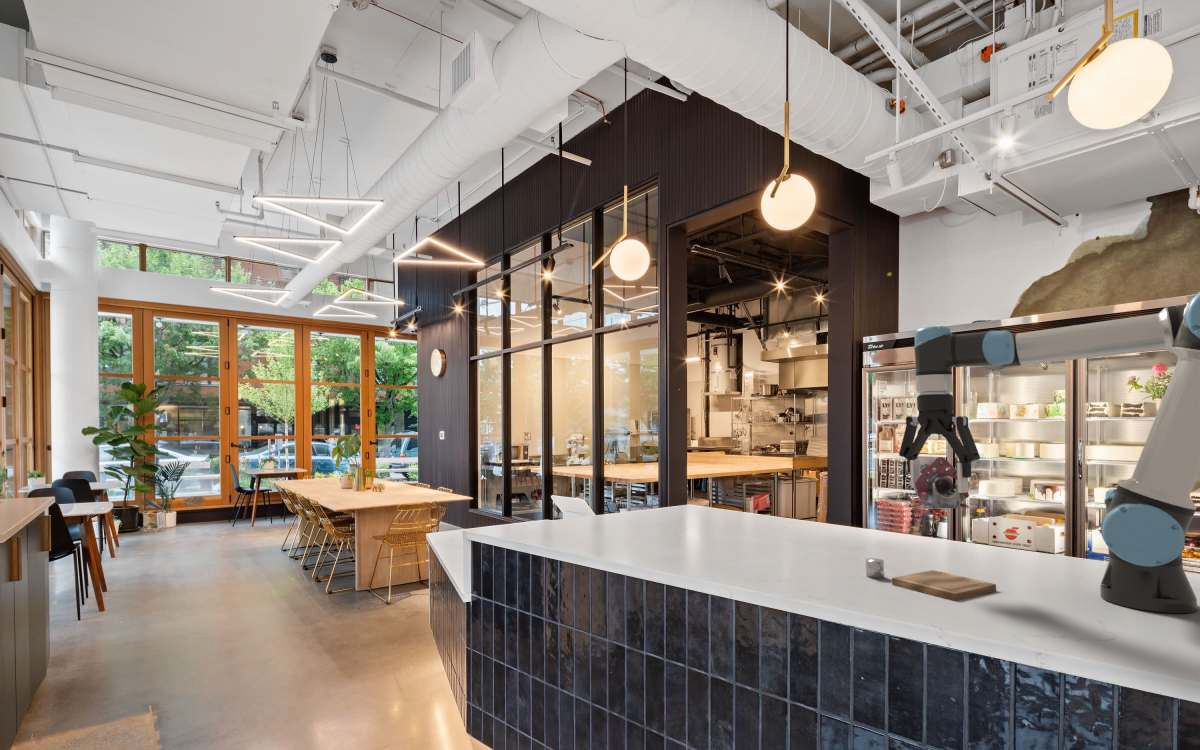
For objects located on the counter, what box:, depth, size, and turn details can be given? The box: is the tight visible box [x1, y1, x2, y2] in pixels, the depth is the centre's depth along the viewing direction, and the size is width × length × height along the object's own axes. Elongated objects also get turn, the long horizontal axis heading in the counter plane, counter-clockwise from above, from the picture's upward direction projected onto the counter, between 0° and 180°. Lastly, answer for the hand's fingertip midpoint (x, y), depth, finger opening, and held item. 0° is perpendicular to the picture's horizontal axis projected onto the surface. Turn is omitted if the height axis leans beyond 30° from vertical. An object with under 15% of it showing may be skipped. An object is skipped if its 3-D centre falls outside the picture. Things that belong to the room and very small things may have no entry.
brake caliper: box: [914, 456, 971, 509], centre depth 146 cm, size 11×11×12 cm
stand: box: [891, 569, 997, 602], centre depth 143 cm, size 15×15×2 cm
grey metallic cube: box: [865, 557, 885, 580], centre depth 153 cm, size 4×4×4 cm
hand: (939, 490), depth 145 cm, fingers closed on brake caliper, 11 cm apart
